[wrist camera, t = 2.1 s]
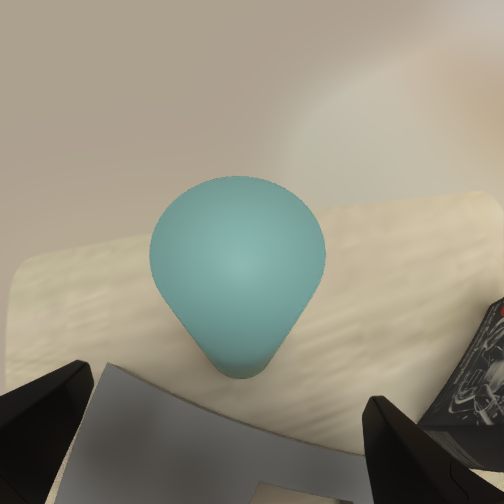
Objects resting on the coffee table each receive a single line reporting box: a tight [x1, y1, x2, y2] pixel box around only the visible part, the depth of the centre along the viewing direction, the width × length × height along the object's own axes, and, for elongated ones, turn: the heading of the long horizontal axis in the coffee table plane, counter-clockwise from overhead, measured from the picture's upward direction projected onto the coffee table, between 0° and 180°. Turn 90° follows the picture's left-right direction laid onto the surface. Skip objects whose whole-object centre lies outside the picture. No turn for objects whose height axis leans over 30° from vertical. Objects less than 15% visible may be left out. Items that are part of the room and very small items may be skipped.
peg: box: [149, 176, 326, 379], centre depth 13 cm, size 4×4×14 cm
